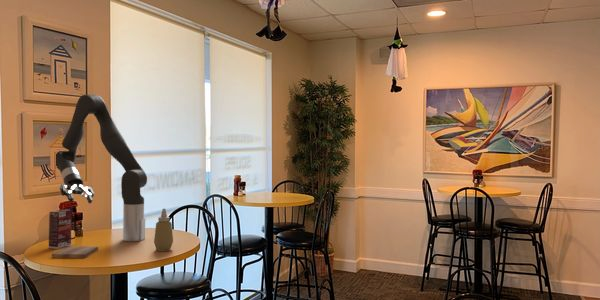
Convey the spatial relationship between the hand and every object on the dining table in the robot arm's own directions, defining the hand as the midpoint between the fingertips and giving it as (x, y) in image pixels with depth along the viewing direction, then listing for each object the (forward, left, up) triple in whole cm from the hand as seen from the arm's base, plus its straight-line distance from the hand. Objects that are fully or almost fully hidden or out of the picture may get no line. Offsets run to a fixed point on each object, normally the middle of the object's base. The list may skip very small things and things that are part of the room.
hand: (81, 201), depth 207 cm
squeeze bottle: (-40, +10, -19) cm, 45 cm away
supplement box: (+6, +6, -19) cm, 21 cm away
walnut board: (-6, +18, -19) cm, 27 cm away
